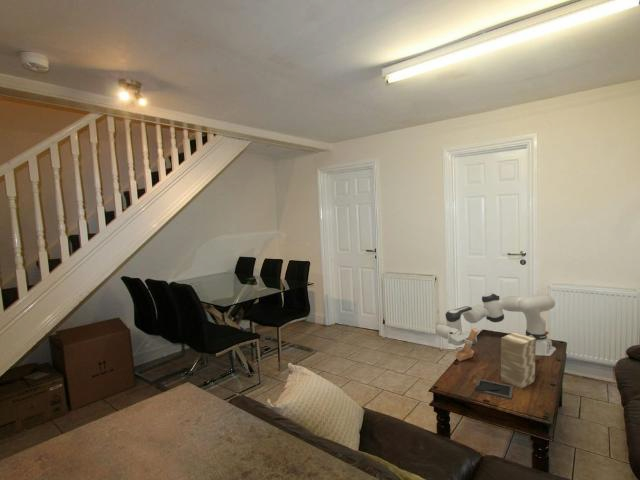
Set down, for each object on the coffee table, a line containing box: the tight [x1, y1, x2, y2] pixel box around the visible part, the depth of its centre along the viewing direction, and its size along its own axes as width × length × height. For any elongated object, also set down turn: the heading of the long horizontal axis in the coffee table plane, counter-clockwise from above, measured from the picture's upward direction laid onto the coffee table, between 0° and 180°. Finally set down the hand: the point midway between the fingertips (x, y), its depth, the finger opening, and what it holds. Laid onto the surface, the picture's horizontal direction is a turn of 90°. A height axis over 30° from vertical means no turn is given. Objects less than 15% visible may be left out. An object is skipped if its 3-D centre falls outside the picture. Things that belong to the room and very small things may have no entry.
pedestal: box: [500, 331, 536, 390], centre depth 201 cm, size 14×12×26 cm
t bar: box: [455, 328, 479, 362], centre depth 228 cm, size 12×23×4 cm
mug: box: [535, 357, 540, 379], centre depth 209 cm, size 12×8×9 cm, turn 117°
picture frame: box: [474, 378, 514, 400], centre depth 195 cm, size 13×2×18 cm
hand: (474, 342), depth 225 cm, fingers closed on t bar, 3 cm apart
